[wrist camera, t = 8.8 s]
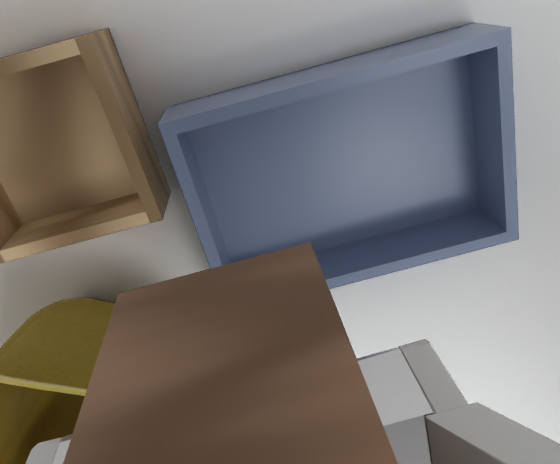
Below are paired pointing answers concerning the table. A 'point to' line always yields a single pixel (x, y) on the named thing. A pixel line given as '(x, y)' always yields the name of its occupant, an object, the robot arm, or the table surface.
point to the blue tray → (358, 157)
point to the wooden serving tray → (72, 148)
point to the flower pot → (48, 374)
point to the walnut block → (230, 373)
